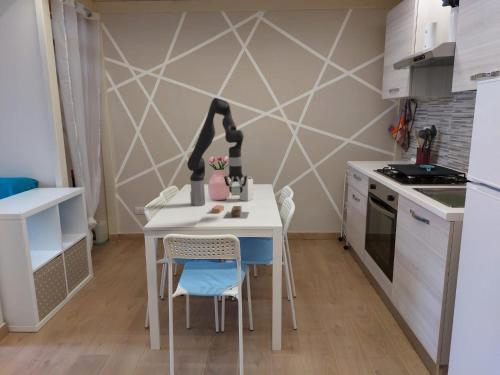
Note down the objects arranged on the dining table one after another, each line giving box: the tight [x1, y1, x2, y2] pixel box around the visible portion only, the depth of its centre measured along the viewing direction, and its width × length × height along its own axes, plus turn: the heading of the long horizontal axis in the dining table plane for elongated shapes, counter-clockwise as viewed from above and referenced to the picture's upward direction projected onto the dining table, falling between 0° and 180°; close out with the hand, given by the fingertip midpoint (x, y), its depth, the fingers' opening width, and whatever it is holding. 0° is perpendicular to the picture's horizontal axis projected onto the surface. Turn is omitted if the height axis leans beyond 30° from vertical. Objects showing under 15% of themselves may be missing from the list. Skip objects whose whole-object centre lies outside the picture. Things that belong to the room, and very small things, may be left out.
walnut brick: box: [230, 205, 243, 217], centre depth 219 cm, size 5×8×4 cm, turn 174°
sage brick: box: [230, 184, 240, 197], centre depth 217 cm, size 5×8×4 cm, turn 178°
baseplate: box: [223, 211, 250, 220], centre depth 220 cm, size 14×14×2 cm
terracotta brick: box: [211, 204, 225, 214], centre depth 229 cm, size 5×8×4 cm, turn 165°
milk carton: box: [238, 173, 254, 202], centre depth 261 cm, size 7×7×19 cm
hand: (236, 192), depth 217 cm, fingers closed on sage brick, 5 cm apart
